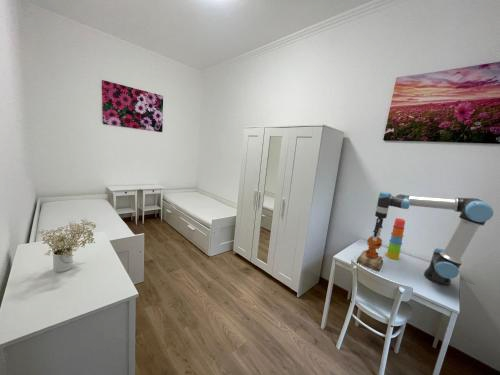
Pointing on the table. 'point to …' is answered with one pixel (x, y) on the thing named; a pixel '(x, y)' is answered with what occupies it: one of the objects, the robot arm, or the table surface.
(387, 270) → the table surface
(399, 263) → the table surface
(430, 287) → the table surface
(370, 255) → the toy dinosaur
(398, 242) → the stacking cups
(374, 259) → the egg carton
